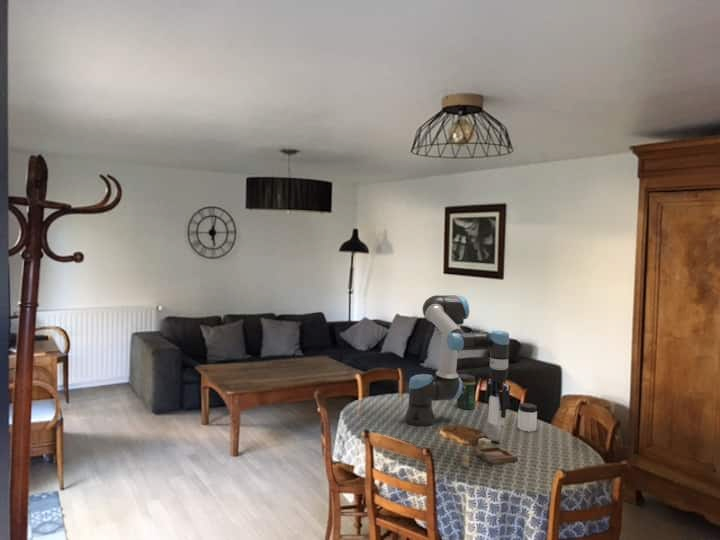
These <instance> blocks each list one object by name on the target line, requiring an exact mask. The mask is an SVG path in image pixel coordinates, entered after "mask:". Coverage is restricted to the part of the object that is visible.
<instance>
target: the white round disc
mask: <svg viewBox="0 0 720 540" xmlns="http://www.w3.org/2000/svg"><path fill="white" fill-rule="evenodd" d="M484 433H485V435H486V437H487V439H489V440H491V442H496V441H498V440H500V439H501V436H502V425H501V426H496V425H492V424H490V423H489V422H488V419H487V420H486V421H485V424H484Z"/></svg>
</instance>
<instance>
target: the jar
mask: <svg viewBox="0 0 720 540" xmlns="http://www.w3.org/2000/svg"><path fill="white" fill-rule="evenodd" d="M537 410H538V409H537V405H536V404H534V403H529V402H528V403H527V402H521V403H519V407H518V410H517V411H518V413H517V429H519V430H520V431H521V430H522V432H527V431H528V432H529V433H531V431H532V432H535V431H537V424H538V423H537V418H538V411H537Z"/></svg>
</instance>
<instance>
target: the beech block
mask: <svg viewBox="0 0 720 540" xmlns="http://www.w3.org/2000/svg"><path fill="white" fill-rule="evenodd" d="M477 441H478V443H477V444H478V445H477V449H479V448H487V447H492V440H490V439H489V438H486V437H482V438H479V439H478V440H477Z"/></svg>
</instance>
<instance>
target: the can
mask: <svg viewBox="0 0 720 540" xmlns="http://www.w3.org/2000/svg"><path fill="white" fill-rule="evenodd" d="M488 399H489V417H487V420H488V422H489V423H490V424H492V425H496V426H501V427H502V425H498V418H499V409H500V403H499V397H498V393H496V395H492V394H491V396H490V398H488Z"/></svg>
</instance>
